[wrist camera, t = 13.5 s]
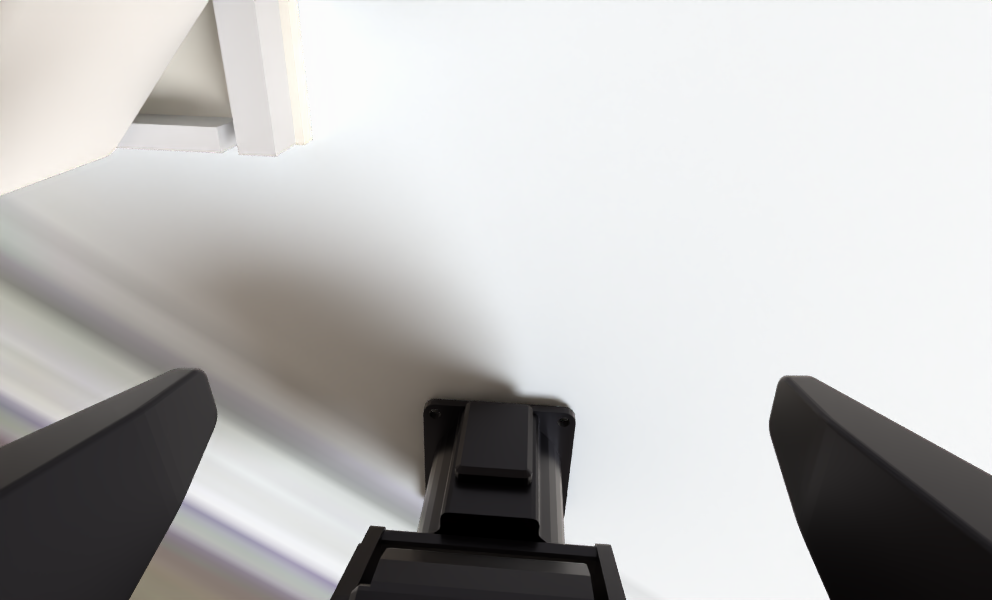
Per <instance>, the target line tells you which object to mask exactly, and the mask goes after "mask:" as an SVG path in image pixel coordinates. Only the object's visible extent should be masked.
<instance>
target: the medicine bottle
mask: <svg viewBox="0 0 992 600" xmlns="http://www.w3.org/2000/svg"><path fill="white" fill-rule="evenodd" d="M208 1H209V0H0V196H1V195H4V194H7V193H9V192H12V191H15V190H18V189H20V188H23V187H26V186H28V185H31V184H34V183H37V182H39V181H42V180H45V179H47V178H50V177H53V176H56V175H58V174H61V173H64V172H66V171H69V170H72V169H75V168H77V167H80V166H83V165H85V164H88V163H91V162H94V161H96V160H99V159H102V158H104V157H107V156H109V155H110V154H112V153H113V152H114V151H115V149H116V147H117V146H118V144H119V143H120V141H121V139H122V138H123V136H124V135H125V133H126V131H127V130H128V128H129V127H130V125H131V124H132V122H133V120H134V119H135V117H136V116H137V114H138V112H139V111H140V109H141V108H142V106H143V104H144V103H145V101H146V100H147V98H148V97H149V95H150V93H151V92H152V90H153V89H154V87H155V85H156V84H157V82H158V81H159V79H160V77H161V76H162V74H163V73H164V71H165V69H166V68H167V66H168V65H169V63H170V62H171V60H172V58H173V57H174V55H175V54H176V52H177V50H178V49H179V47H180V46H181V44H182V42H183V41H184V39H185V38H186V36H187V35H188V33H189V31H190V30H191V28H192V27H193V25H194V23H195V22H196V20H197V19H198V17H199V15H200V14H201V12H202V11H203V9H204V7H205V6H206V4H207V3H208Z"/></svg>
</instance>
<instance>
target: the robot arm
mask: <svg viewBox="0 0 992 600" xmlns="http://www.w3.org/2000/svg"><path fill="white" fill-rule="evenodd" d="M432 409H436V410H439V411H440V412H439V413H435V412H433V411H432ZM423 417H424V449H425V482H426V494H425V499H424V503H423V508H422V512H421V516H420V521H419V525H418V530H417V532H408V531H395V530H386V528H385V527H381V526H370V527H369V529H368V531H367V533H366V535H365V537H364V539H363V541H362V543H359V544H358V546H357V548H356V550H355V552H354V554H353V556H352V558H351V560H350V562H349V564H348V566H347V568H346V570H345V572H344V574H343V576H342V578H341V580H340V581H339V583H338V585H337V587H336V589H335V591H334V593H333V595H332V597H331V599H330V600H626V598H625V594H624V590H623V587H622V583H621V580H620V576H619V573H618V569H617V565H616V562H615V558H614V555H613V551H612V548H611V545H608V544H595V546H584V545H571V544H565V539H564V519H563V518H564V515H565V507H566V498H567V490H568V482H569V473H570V465H571V457H572V449H573V440H574V432H575V424H576V423H575V414H574V412H573V411H572V410H571V409H569V408H566V407H555V406H540V405H527V404H513V403H498V402H482V401H463V400H447V399H431V400H429V401H428V402H427V403H426V405H425V408H424V413H423ZM560 418H567V419H568V420H566V421H560V420H559V419H560ZM216 421H217V408H216V405H215V402H214V398H213V395H212V392H211V388H210V385H209V382H208V378H207V376H206V374H205V373H204V371H202V370H201V369H198V368H177V369H173V370H170V371H168V372H166V373H164V374H161V375H159V376H157V377H155V378H153V379H150V380H148V381H146V382H144V383H142V384H139V385H137V386H135V387H133V388H130V389H128V390H126V391H124V392H122V393H119V394H117V395H115V396H113V397H111V398H108V399H106V400H104V401H102V402H99V403H97V404H95V405H93V406H91V407H88V408H86V409H84V410H82V411H80V412H77V413H75V414H73V415H71V416H68V417H66V418H64V419H62V420H60V421H57V422H55V423H53V424H51V425H49V426H46V427H44V428H42V429H40V430H38V431H35V432H33V433H31V434H29V435H26V436H24V437H22V438H20V439H18V440H15V441H13V442H11V443H9V444H7V445H4V446H2V447H0V600H129V599H130V597H131V595H132V593H133V592H134V590H135V588H136V586H137V584H138V583H139V581H140V579H141V577H142V575H143V574H144V572H145V570H146V568H147V566H148V565H149V563H150V561H151V559H152V557H153V556H154V554H155V552H156V550H157V548H158V547H159V545H160V543H161V541H162V540H163V538H164V536H165V534H166V532H167V531H168V529H169V527H170V525H171V523H172V522H173V520H174V518H175V516H176V514H177V512H178V510H179V508H180V506H181V504H182V502H183V500H184V497H185V495H186V493H187V491H188V489H189V486H190V484H191V482H192V479H193V477H194V475H195V472H196V470H197V468H198V465H199V463H200V460H201V458H202V456H203V453H204V451H205V449H206V446H207V444H208V442H209V439H210V437H211V435H212V432H213V430H214V428H215V425H216ZM769 431H770V436H771V439H772V443H773V446H774V449H775V453H776V456H777V459H778V462H779V466H780V469H781V472H782V476H783V479H784V482H785V485H786V489H787V492H788V495H789V499H790V502H791V505H792V508H793V512H794V515H795V518H796V520H797V523H798V526H799V529H800V531H801V534H802V536H803V538H804V541H805V543H806V546H807V548H808V550H809V552H810V555H811V557H812V559H813V562H814V564H815V566H816V568H817V571H818V573H819V575H820V578H821V580H822V582H823V585H824V587H825V589H826V591H827V594H828V596H829V598H830V600H992V475H990V474H988V473H987V472H985V471H983V470H981V469H979V468H977V467H976V466H974V465H972V464H970V463H968V462H967V461H965V460H963V459H961V458H959V457H957V456H956V455H954V454H952V453H950V452H948V451H946V450H945V449H943V448H941V447H939V446H937V445H936V444H934V443H932V442H930V441H928V440H926V439H925V438H923V437H921V436H919V435H917V434H916V433H914V432H912V431H910V430H908V429H906V428H905V427H903V426H901V425H899V424H897V423H896V422H894V421H892V420H890V419H888V418H886V417H885V416H883V415H881V414H879V413H877V412H876V411H874V410H872V409H870V408H868V407H866V406H865V405H863V404H861V403H859V402H857V401H856V400H854V399H852V398H850V397H848V396H846V395H845V394H843V393H841V392H839V391H837V390H836V389H834V388H832V387H830V386H828V385H826V384H825V383H823V382H821V381H819V380H817V379H816V378H814V377H811V376H783V377H782V378H781V379H780V380H779V382H778V385H777V388H776V393H775V397H774V401H773V406H772V410H771V414H770V419H769Z"/></svg>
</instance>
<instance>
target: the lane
mask: <svg viewBox="0 0 992 600" xmlns="http://www.w3.org/2000/svg"><path fill="white" fill-rule="evenodd" d="M312 140H313V139H312V130H311V120H310V111H309V102H308V93H307V84H306V75H305V66H304V57H303V48H302V39H301V30H300V20H299V11H298V2H297V0H209V1H208V3H207V4H206V6H205V7H204V9H203V11H202V12H201V14H200V15H199V17H198V19H197V20H196V22H195V23H194V25H193V27H192V28H191V30H190V31H189V33H188V35H187V36H186V38H185V39H184V41H183V42H182V44H181V46H180V47H179V49H178V50H177V52H176V54H175V55H174V57H173V58H172V60H171V62H170V63H169V65H168V66H167V68H166V69H165V71H164V73H163V74H162V76H161V77H160V79H159V81H158V82H157V84H156V85H155V87H154V89H153V90H152V92H151V93H150V95H149V97H148V98H147V100H146V101H145V103H144V104H143V106H142V108H141V109H140V111H139V112H138V114H137V116H136V117H135V119H134V120H133V122H132V124H131V125H130V127H129V128H128V130H127V131H126V133H125V135H124V136H123V138H122V139H121V141H120V143H119V144H118V146H117V147H116V148H123V149H144V150H165V151H185V152H206V153H223V152H225V151H227V150H229V149H231V148H233V147H235V146H237V148H238V154H239V155H251V156H271V157H277V156H278V155H280V154H281V153H283V152H285V151H286V150H288V149H290V148H291V147H293V146H295V145H306V144H307V143H309V142H310V141H312Z"/></svg>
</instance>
